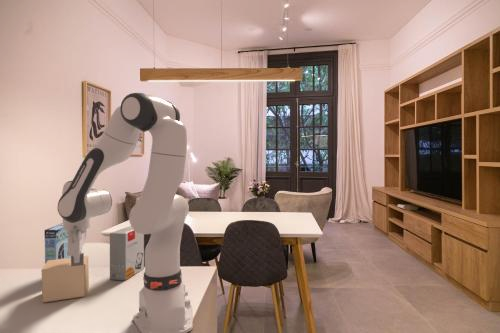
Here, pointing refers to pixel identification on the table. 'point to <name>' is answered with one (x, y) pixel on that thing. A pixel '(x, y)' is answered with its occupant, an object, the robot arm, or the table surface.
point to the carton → (68, 263)
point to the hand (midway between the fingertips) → (77, 261)
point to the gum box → (56, 243)
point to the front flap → (64, 281)
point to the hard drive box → (126, 253)
